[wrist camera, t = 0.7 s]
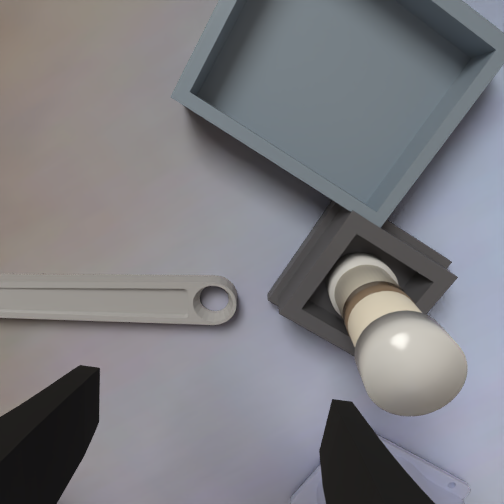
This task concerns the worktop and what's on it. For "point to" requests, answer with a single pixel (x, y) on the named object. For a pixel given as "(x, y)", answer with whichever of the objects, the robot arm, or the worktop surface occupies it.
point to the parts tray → (343, 87)
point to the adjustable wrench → (113, 298)
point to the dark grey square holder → (344, 242)
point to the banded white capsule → (394, 339)
